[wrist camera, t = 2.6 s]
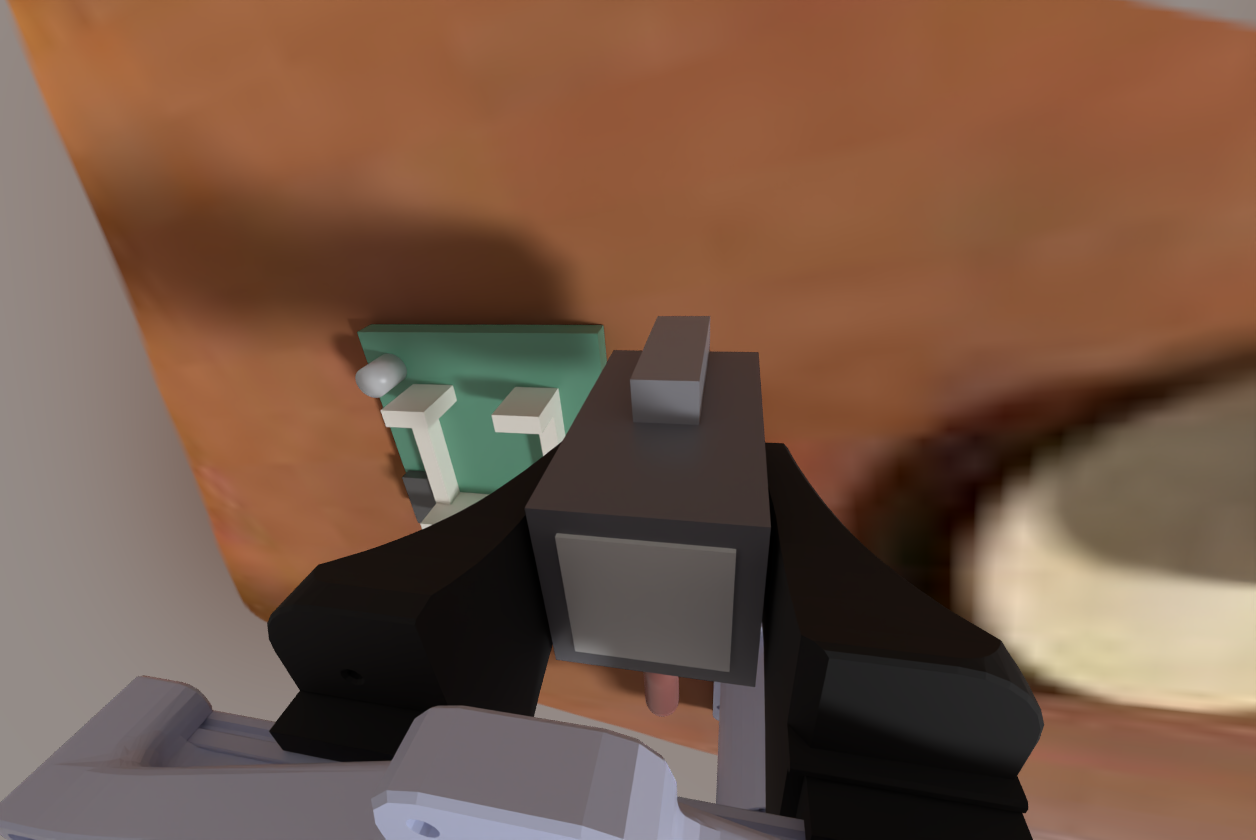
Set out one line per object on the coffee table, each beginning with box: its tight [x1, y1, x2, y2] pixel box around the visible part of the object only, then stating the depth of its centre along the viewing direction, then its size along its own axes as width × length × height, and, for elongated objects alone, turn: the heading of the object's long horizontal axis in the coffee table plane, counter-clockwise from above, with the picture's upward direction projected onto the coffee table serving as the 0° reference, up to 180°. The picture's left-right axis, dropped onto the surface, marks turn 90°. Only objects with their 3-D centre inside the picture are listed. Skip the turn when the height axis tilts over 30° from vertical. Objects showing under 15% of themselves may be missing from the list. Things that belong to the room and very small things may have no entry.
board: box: [356, 324, 607, 529], centre depth 24 cm, size 12×11×4 cm
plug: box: [525, 316, 771, 716], centre depth 13 cm, size 8×4×7 cm, turn 4°
